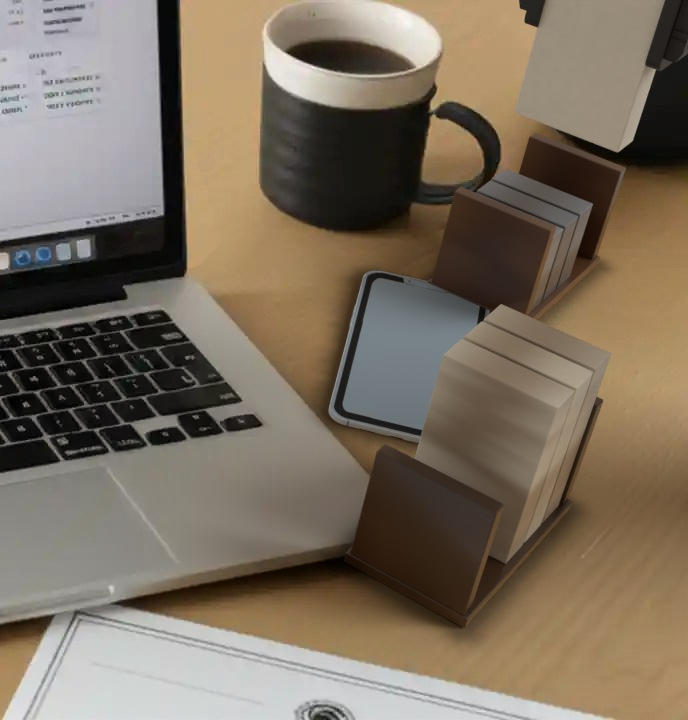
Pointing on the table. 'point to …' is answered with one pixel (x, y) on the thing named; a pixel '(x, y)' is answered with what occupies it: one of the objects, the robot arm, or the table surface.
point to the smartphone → (397, 353)
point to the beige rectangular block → (591, 68)
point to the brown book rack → (482, 465)
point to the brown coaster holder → (529, 229)
